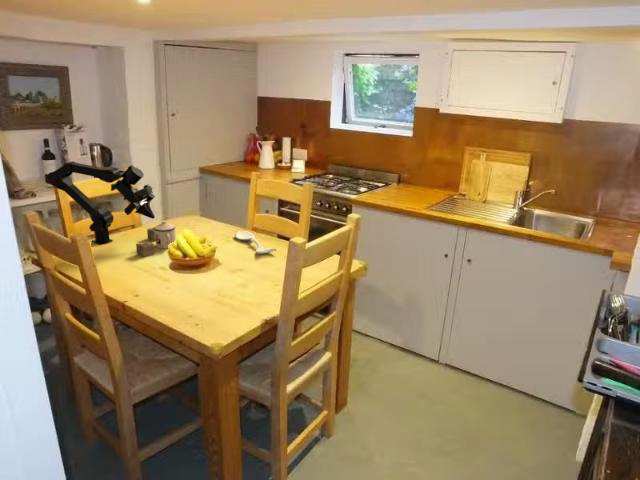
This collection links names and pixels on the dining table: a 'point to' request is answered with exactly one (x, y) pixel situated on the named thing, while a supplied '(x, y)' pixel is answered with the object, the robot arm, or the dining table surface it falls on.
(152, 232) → the walnut block three dots
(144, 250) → the walnut block two dots
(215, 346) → the dining table surface
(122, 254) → the dining table surface
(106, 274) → the dining table surface
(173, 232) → the teacup with lid
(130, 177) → the robot arm
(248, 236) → the spoon
